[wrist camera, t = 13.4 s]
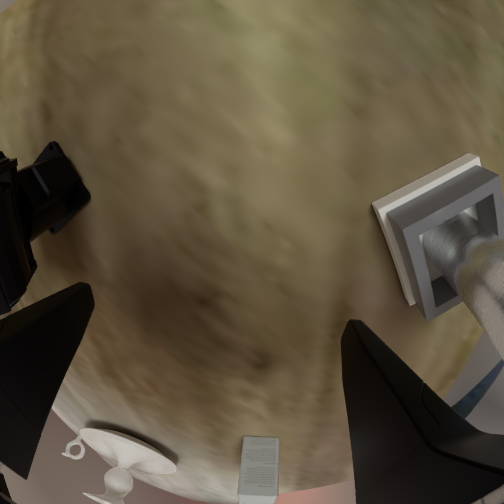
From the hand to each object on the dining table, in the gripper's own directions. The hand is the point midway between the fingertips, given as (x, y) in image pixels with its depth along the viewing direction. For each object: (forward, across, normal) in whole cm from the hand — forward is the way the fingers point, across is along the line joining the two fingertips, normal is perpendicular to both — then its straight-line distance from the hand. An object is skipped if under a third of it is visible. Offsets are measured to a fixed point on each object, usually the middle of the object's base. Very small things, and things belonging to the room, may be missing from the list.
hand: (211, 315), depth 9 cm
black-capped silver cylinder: (+12, -16, 0) cm, 20 cm away
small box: (+13, -6, +39) cm, 42 cm away
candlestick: (+13, +21, +51) cm, 56 cm away
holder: (+13, -16, 0) cm, 21 cm away
